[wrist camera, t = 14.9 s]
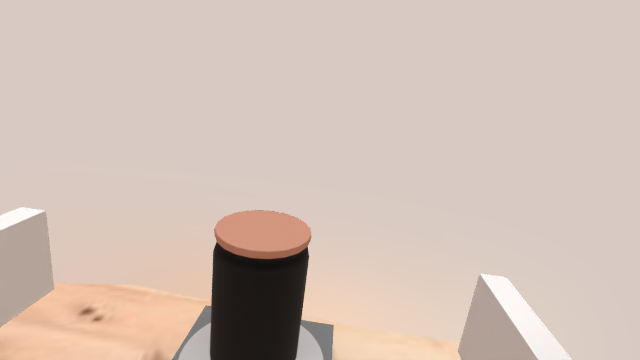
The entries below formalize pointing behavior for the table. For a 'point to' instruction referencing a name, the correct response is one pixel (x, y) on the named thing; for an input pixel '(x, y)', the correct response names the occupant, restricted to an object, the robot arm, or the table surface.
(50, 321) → the table surface
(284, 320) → the coffee jar
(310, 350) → the kitchen scale
